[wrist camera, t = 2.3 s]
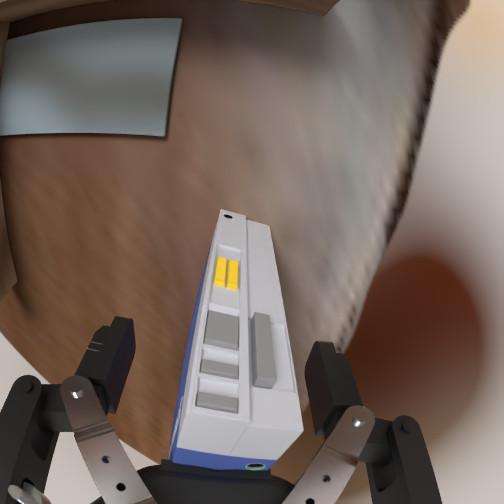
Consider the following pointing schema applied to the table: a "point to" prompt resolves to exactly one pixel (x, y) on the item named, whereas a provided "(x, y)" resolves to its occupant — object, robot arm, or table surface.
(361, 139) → the table surface
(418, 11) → the table surface
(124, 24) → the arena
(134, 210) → the table surface
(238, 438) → the walkman
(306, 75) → the table surface
